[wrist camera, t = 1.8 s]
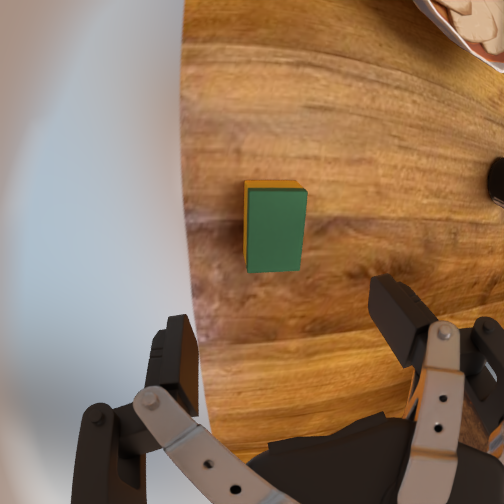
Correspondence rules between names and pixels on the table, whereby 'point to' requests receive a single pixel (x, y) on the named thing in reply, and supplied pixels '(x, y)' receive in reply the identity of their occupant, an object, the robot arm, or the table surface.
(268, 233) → the sponge
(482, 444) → the book
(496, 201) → the beverage can
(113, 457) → the robot arm
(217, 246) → the table surface
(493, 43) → the ramen bowl
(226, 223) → the table surface
